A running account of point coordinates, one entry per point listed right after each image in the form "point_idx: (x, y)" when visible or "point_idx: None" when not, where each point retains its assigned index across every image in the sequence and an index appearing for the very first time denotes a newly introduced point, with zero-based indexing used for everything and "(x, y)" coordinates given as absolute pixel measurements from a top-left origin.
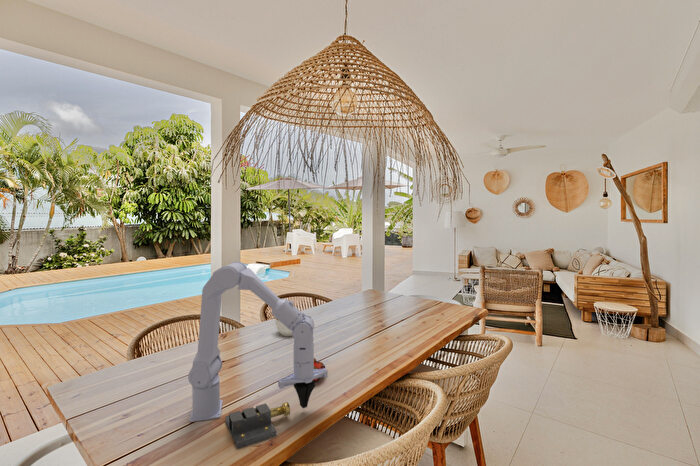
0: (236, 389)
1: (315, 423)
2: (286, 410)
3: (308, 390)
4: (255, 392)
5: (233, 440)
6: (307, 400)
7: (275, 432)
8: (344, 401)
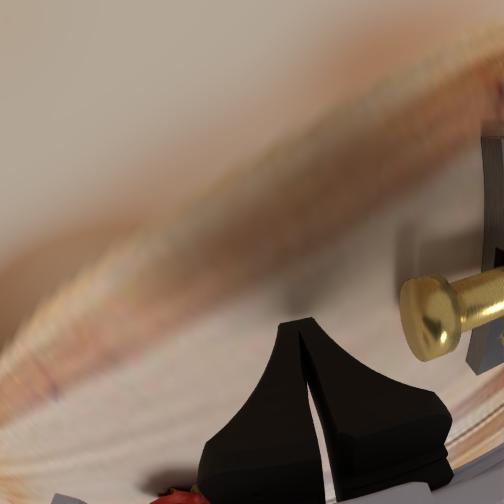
0: None
1: (246, 169)
2: (447, 285)
3: (295, 411)
4: None
5: None
6: (285, 348)
7: (499, 139)
8: (49, 338)
